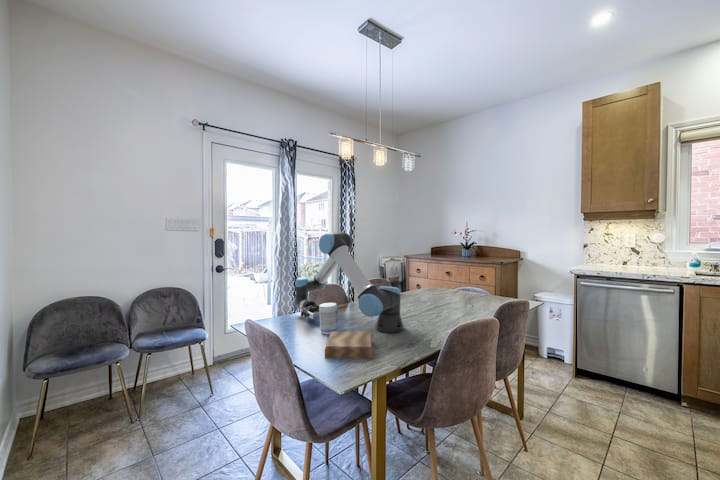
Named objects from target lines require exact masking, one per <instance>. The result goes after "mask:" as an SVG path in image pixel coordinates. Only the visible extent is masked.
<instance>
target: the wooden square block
mask: <svg viewBox="0 0 720 480" xmlns="http://www.w3.org/2000/svg"><path fill="white" fill-rule="evenodd" d="M371 332H372V331H338V332H337V331H331V333H330V334H329V337H328V339H327V342H326V344H325V347H324V359H339V360H340V359H344V360H345V359H347V360H348V359H349V360H350V359H353V360H354V359H355V360H372V359H373V335H372V333H371Z"/></svg>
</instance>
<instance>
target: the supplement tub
mask: <svg viewBox="0 0 720 480" xmlns="http://www.w3.org/2000/svg"><path fill="white" fill-rule="evenodd" d="M337 304H338V303H336V302H324V303H321V304H319V313H318V314H319V326H320V327H319V329H320V333H321V334H322V335H326V336H327V335H329V336H330V333H331V331H337V332H339V318H338V316H339V314H338V312H339V311H338V305H337Z"/></svg>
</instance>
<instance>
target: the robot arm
mask: <svg viewBox="0 0 720 480" xmlns="http://www.w3.org/2000/svg"><path fill="white" fill-rule="evenodd" d="M353 245H354V242H353V238H352V236H351V235H350V234H348V233H346V232H343V231H342V232H325V233H323V234H322V235H321V236H320V238H319V241H318V249H319V250H320V252H321V253H323V254H325V255H328V258H327V259H326V261H325V262H324V263H323V265H322V266H321V268H320V269H319V271H318V272H317V274H315V276H314V278H312V279H308V278H307V277H298V278H296V279H295V297H294V299H293V305H294V306H295V308H297V309H298V310H300V316H301V317H304V318H307V317H308V318H309V319H311V320H314V313H317V312H319V305H320V304H319V305H317V304H316V302H315V301H313V300H311V299H309V293H310V292H316V291H322V290H324V289H325V288H326V286H327V281H328V280H329V278H330V277H331V276H332V274H333V272H334V271H335V270H336V269H337V267H338V266H339V268H340V269H341V271H342V272H343V274H344V275H345V276H346V278H347V280H348V281H349V282H350V284H351V286H352V287H353V289H354V290H355V291H356V293H357V299H358V308H359V310H360V312H361V313H362V315H363V316H366V317H369V318H372V317H377V320H376V323H375V330H377V331H378V332H380V333H386V334H391V333H392V334H394V333H400V332H402V331H403V330H404V323H403V322H404V321H403V320H402V317H401V289H400V288H399V287H395V286H387V285H386V286H385V285H380V286H379V288H378V286H377V285H376V284H373V283H372V282H371V281H370V280H369V279H368V277H367V276H366V275H365V274H364V272H363V271H362V269H361V268H360V266H359V265H358V263H357V262H356V260H355V259H354V257H352V255H351V254H350V252H351V250H352V248H353Z"/></svg>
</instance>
